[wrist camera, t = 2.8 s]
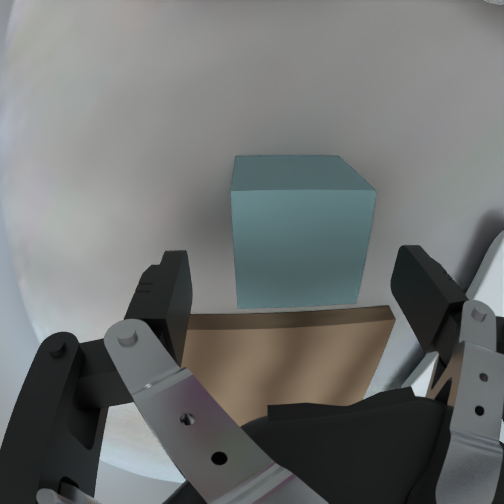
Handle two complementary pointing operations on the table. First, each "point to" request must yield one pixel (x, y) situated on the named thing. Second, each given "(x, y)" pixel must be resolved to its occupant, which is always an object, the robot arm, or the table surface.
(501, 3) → the bracket
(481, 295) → the salad plate
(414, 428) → the robot arm
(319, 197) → the slate cube
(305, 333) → the walnut board
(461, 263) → the table surface
